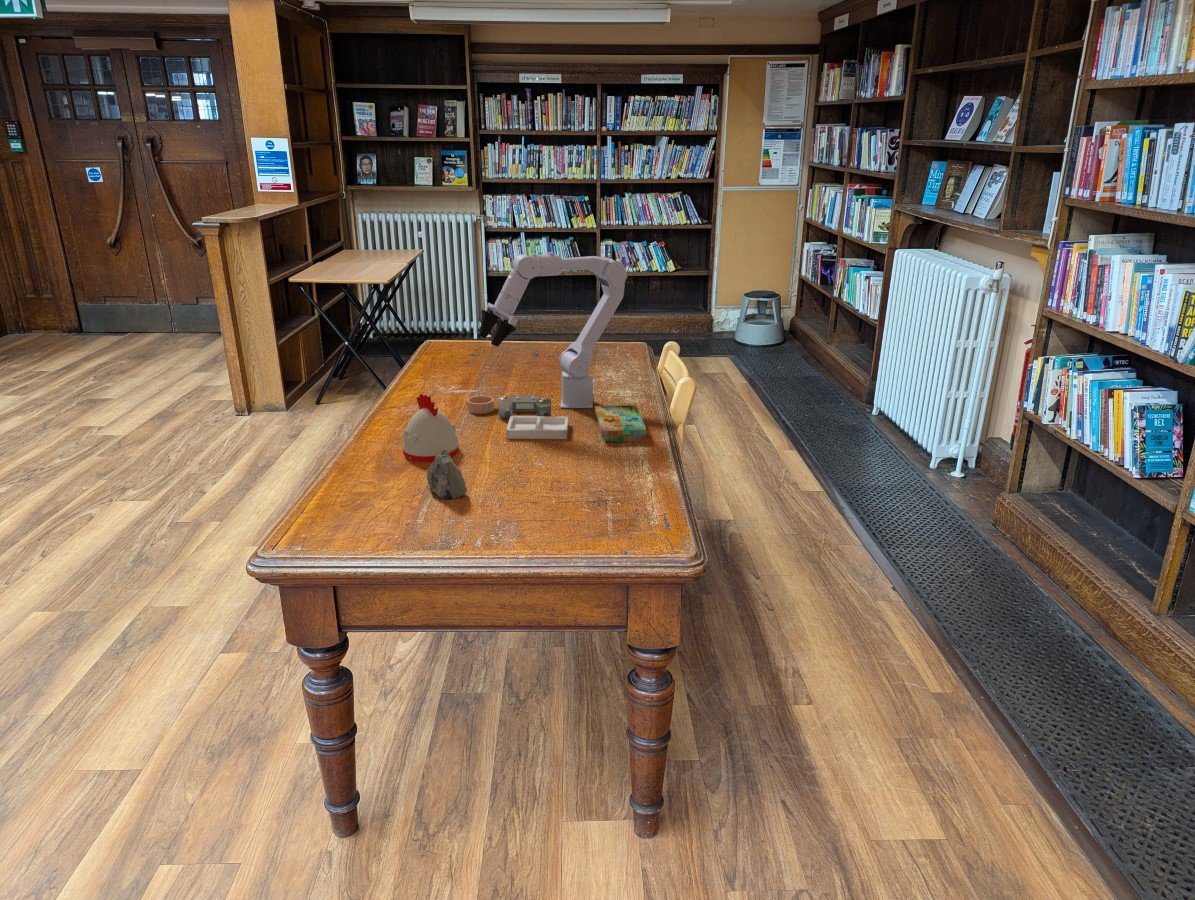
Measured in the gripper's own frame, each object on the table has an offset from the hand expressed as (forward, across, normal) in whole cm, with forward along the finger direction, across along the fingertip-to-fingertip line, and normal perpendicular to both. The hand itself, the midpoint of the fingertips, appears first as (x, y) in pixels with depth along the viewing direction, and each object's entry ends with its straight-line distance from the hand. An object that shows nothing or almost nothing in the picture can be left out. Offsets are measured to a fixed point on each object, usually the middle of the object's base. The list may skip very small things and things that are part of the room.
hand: (488, 341), depth 224 cm
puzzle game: (+5, +31, +30) cm, 44 cm away
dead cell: (+17, +6, +12) cm, 22 cm away
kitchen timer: (+30, +19, -12) cm, 38 cm away
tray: (+15, +21, +14) cm, 29 cm away
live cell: (+13, +14, +19) cm, 27 cm away
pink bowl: (+20, -4, +10) cm, 23 cm away
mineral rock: (+31, +42, -18) cm, 55 cm away
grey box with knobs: (+13, +2, +20) cm, 24 cm away
